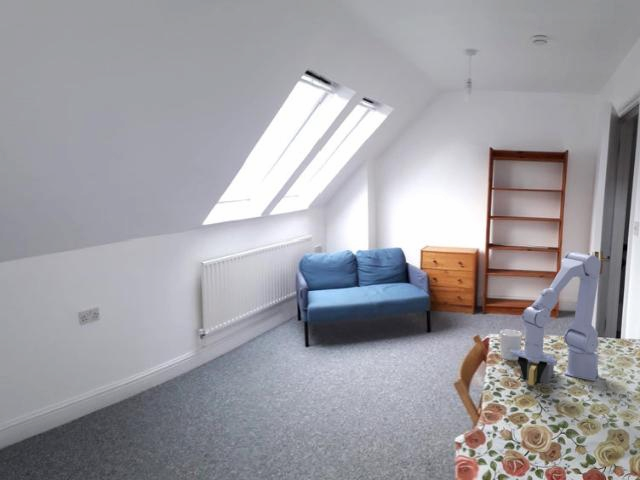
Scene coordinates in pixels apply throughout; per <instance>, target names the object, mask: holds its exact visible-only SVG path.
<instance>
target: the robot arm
mask: <svg viewBox="0 0 640 480" xmlns="http://www.w3.org/2000/svg"><path fill="white" fill-rule="evenodd" d="M601 264H602V261H601V260H600V259H599V258H598V256H596V255H593V254H586V253H583V252H582V253H581V252H576V251H572V250H570V251H567V252H566V253H565V255H564V257H563V258H562V259H561V268H560V269H559V271H558V273H557V274H556V276H555V278H554V280H553V281H552V282H551V285H550V286H549V288H544V289H542V291H541V292H540V294H539V295H538V297H536V299H535V300H534V302H533V304H532V305H530V306H528V307H526V308H525V309H524V310H523V312H522V314H521V317H522V318H521V319H522V321H523V323H524V325H523V326H524V328H525V329H524V331H525V332H524V346H523V347H524V349H523V350H521V349H520V350H511V351H510V357H513V356H514V357H518V360H517V364H518V365H519V367H520V372H521V371H522V374H523V377H522V379H523V380H524V381H527V364H528V360H530V361H538V362H539V363H538V365H537V367H538V375H537V380H536V383H537V384H540V383H541V382H540V379H541V376H542V373H543V371H544V369H545V367H546V366H547V364H552V365H553V366H554V367H556V366H557V365H558V358H556V357H554V358H553V357H549V356H546V355H543V353H544V352H543V351H544V340H545V339H544V336H545V327H546V325H548V323H549V321H550V316H551V314H552V311H553V309H554V308H555V306H556V305H557V304H558V302H559V301H560V293H561V292H562V291H563V289H564V288H565V287H566V286H567V285H568V284H569V283H570V281H572V279H573V278H576V277H577V278H579V286H578V291H577V292H578V293H577V301H576V307H575V313H574V320H573V322H571V323H569V324H568V325H567V327H566V331H565V333H564V335H563V341H564V343H565V344H566V347H567V348H568V355H567V367H566V369H565V372H564V375H565V376H569V377H573V378H578V379H584V380H587V381H592V382H596V379H597V376H598V374H599V369H598V368H599V353H598V352H595V351H597V349H598V348H599V332H598V330H597V329H596V328H595V327H594V325H592V323H593V318H594V310H595V304H596V297H597V296H596V295H597V289H598V282H599V278H600V273H601V272H600V271H601Z"/></svg>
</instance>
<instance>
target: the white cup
mask: <svg viewBox="0 0 640 480" xmlns="http://www.w3.org/2000/svg"><path fill="white" fill-rule="evenodd" d="M522 338H523V332H521V331H519V330H515V329H511V328H506V329H501V330H500V331H499V345H500V346H499V350H500V358H502V359H504V360H507V361H518V357H514V356H513V357H510V351H511V350H520V351H521V347H522Z"/></svg>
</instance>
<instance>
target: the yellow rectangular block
mask: <svg viewBox="0 0 640 480" xmlns="http://www.w3.org/2000/svg"><path fill="white" fill-rule="evenodd" d="M537 375H538V367H537V365H534V364H532V366H531V367H530V369H529V379H528V382H527V383H528V386H534V385H535V383H536V382H537Z"/></svg>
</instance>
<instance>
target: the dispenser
mask: <svg viewBox="0 0 640 480" xmlns="http://www.w3.org/2000/svg"><path fill="white" fill-rule="evenodd" d="M543 355H546V356H549V357H553V358H555V354H552V353H549V352H543ZM538 363H539V362H538V361H530V360H528V364H527V378H526V380H527V379H528V380H529V369H530V367H531V366H532V364H534V365H538ZM554 368H555V366H553V365H552V364H547V366H546V367H545V369H544V371H543V373H542V376H541V379H540V382H539V383H545V384H549V382H550V380H551V379H552V377H553V374H554ZM519 372H520V375H519V376H520V378H523V374H522V371H521V370H520V371H519Z"/></svg>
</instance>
